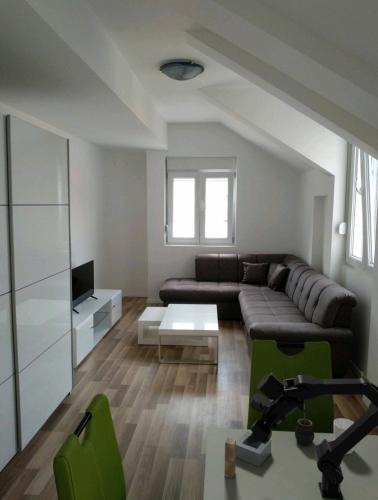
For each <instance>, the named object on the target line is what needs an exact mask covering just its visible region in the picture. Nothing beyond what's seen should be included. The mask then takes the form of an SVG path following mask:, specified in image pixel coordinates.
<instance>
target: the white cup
mask: <svg viewBox="0 0 378 500" xmlns="http://www.w3.org/2000/svg"><path fill="white" fill-rule="evenodd" d="M354 422H355V421H352V420H350V419H348V418H341V417H340V418H338V417H337V418H336V419H334V420H333V441H334V440H335V439H336V438H338V437H339V436H340V435H341V434H342V433H343V432H344V431H345V430H346V429H348V428H349V427H350V426H351V425H352V424H353V423H354ZM354 448H355V446H354V447H353V448H352V449H351V450H350V451H349V452H347V453H346V454H345V455H350V454H352V453H354Z"/></svg>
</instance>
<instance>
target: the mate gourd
mask: <svg viewBox="0 0 378 500" xmlns="http://www.w3.org/2000/svg"><path fill="white" fill-rule="evenodd" d="M296 422H297V424H296V427H295V431H294V438H295V439H296V441H297V442H298V443H299V444H301V445H304V446H308V445H310V444H312V443H313V442H314V440H315V431H314V428H313V427H314V425H313V422H312V421H311V420H310V419H307V418H306V412H305V411H304V412H303V418H299V419H298V420H297V421H296Z"/></svg>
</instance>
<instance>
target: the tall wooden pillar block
mask: <svg viewBox="0 0 378 500" xmlns="http://www.w3.org/2000/svg"><path fill="white" fill-rule="evenodd" d="M236 442H237V439H234V438H231V437H227V438H226V440H225V442H224V474H223V475H224V477H227V478H230V479H234V477H235V475H236V465H237V462H236V461H237V457H236Z"/></svg>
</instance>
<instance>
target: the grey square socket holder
mask: <svg viewBox="0 0 378 500" xmlns="http://www.w3.org/2000/svg"><path fill="white" fill-rule="evenodd" d="M251 433H252V432H250V431H246V432H245V433H243V434H242V436H241V437H239V438H238V440H236V459H239V460H242V461H244V462H246V463H249V464H252V465H253V466H256V467H258V468H260V467H261V465H262V464H263V463H264V461H266V459H267V458H268V457H269V456H270V454H271V453H272V440H271V439H270V440H269V441H268V442H267V443H266V444H263V443H262V442H256V443H248V442H247V439H248V438H249V436H250V435H251Z"/></svg>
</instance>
